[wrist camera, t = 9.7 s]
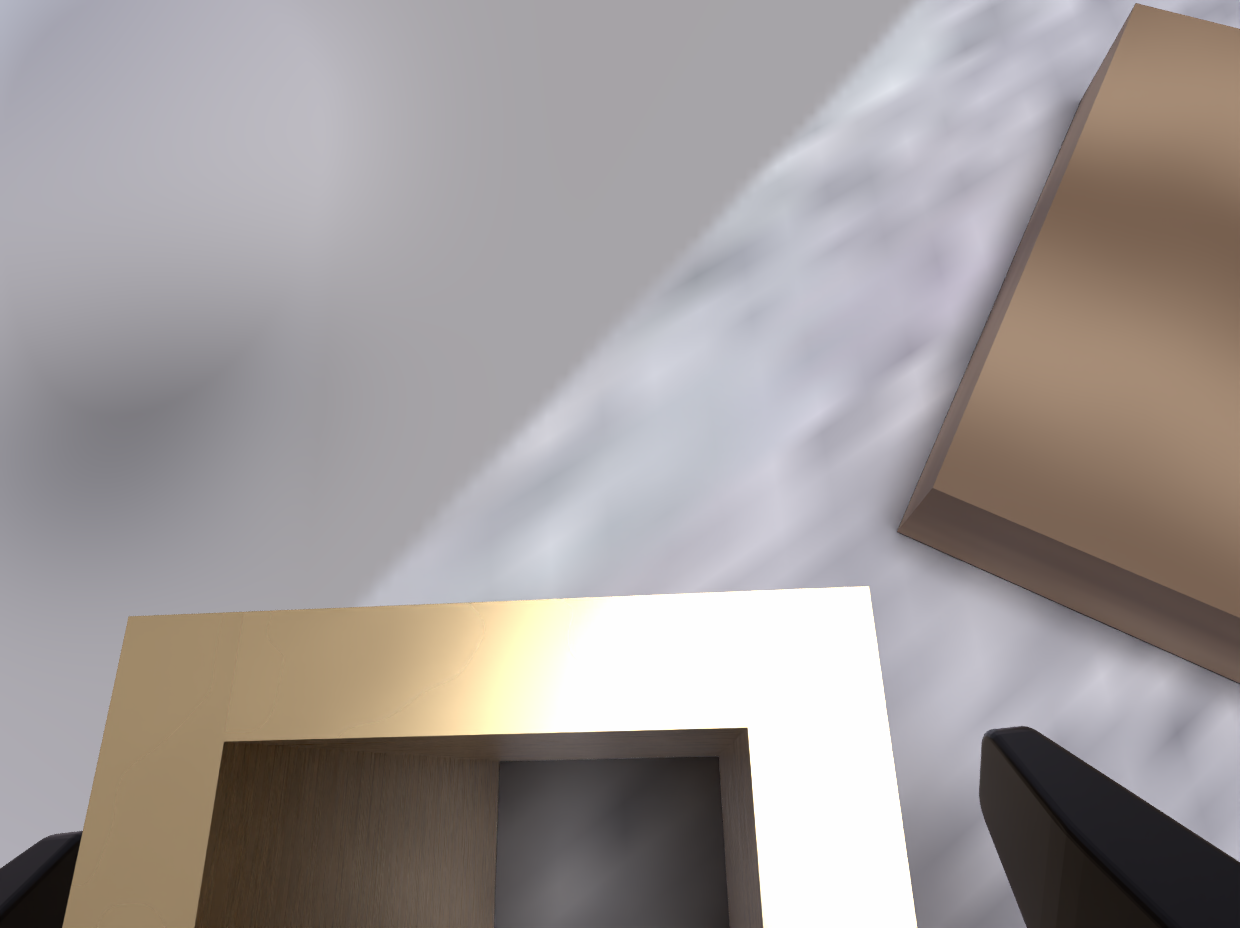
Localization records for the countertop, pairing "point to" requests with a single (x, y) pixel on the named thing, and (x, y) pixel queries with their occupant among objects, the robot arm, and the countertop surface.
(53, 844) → the robot arm
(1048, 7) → the countertop surface
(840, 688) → the collar
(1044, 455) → the post stand
